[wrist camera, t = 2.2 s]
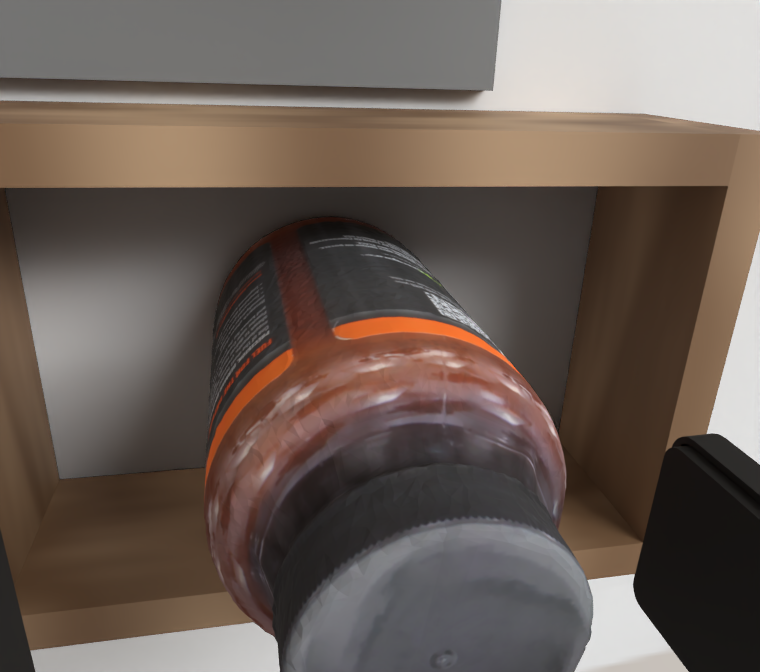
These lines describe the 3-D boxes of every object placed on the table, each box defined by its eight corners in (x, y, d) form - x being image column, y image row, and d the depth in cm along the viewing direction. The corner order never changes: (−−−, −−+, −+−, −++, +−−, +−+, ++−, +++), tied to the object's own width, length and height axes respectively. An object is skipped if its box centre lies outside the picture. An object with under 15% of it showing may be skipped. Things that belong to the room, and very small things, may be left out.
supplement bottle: (218, 417, 19) (193, 860, 8) (210, 208, 16) (160, 467, 6) (422, 408, 20) (617, 786, 10) (441, 212, 17) (723, 433, 7)
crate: (644, 113, 17) (785, 134, 13) (581, 462, 22) (670, 569, 17) (-63, 99, 14) (-203, 119, 10) (26, 512, 19) (-41, 659, 14)
